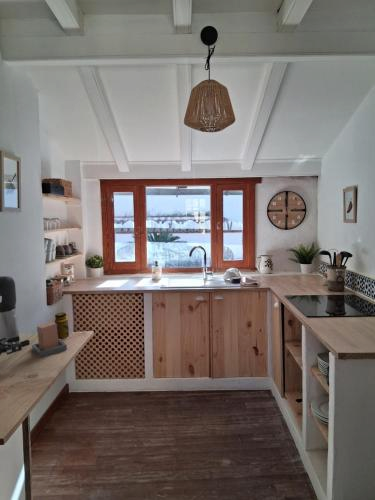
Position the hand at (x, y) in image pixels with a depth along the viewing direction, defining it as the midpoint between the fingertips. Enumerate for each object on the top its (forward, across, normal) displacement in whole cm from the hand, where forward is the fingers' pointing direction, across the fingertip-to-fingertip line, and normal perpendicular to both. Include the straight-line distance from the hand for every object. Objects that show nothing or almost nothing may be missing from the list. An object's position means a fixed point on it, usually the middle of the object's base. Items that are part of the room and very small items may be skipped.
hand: (23, 339), depth 159 cm
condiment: (+23, +9, +9) cm, 26 cm away
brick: (+11, 0, +8) cm, 14 cm away
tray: (+11, 0, +8) cm, 14 cm away
